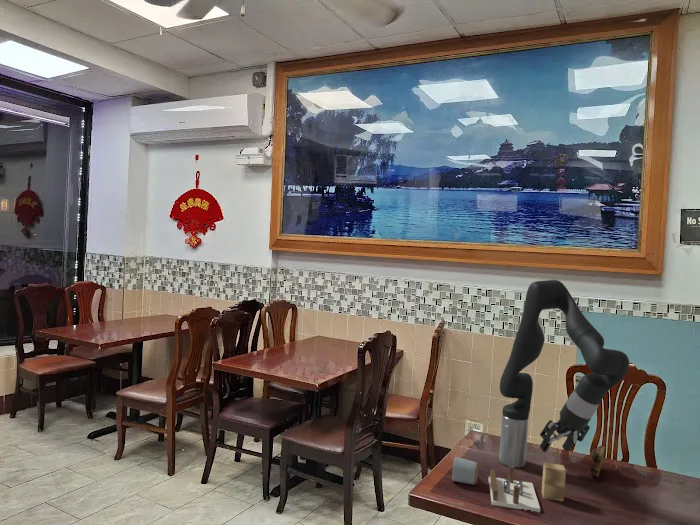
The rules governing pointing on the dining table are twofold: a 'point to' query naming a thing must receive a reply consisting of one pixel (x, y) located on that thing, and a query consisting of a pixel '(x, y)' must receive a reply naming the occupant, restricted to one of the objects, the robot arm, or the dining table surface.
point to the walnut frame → (511, 476)
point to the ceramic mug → (465, 471)
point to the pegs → (507, 487)
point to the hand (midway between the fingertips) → (553, 449)
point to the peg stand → (506, 500)
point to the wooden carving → (596, 460)
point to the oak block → (553, 482)
